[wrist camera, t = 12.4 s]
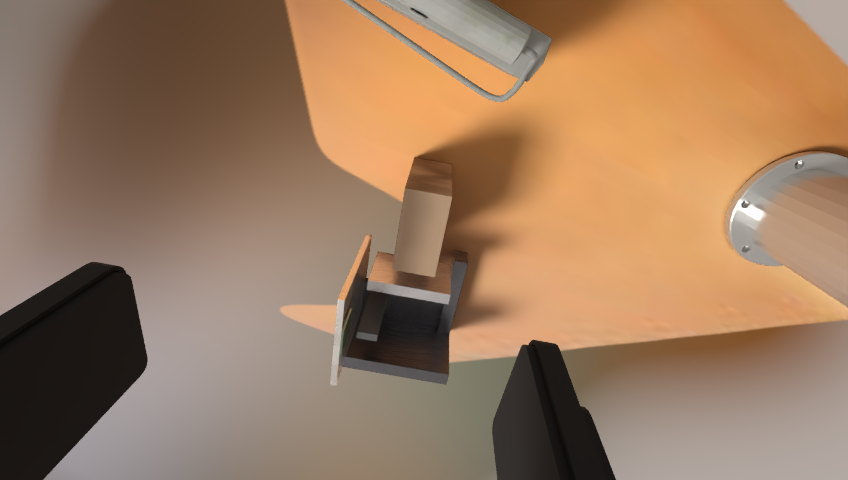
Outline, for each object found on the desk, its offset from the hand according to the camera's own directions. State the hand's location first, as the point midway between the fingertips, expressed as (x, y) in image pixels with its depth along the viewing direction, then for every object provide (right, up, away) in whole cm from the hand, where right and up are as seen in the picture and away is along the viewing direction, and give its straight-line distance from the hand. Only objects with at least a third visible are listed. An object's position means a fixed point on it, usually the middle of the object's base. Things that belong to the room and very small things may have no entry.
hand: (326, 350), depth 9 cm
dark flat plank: (-3, -2, +37) cm, 37 cm away
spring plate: (+1, -1, +35) cm, 35 cm away
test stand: (0, -3, +39) cm, 39 cm away
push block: (+3, +8, +33) cm, 34 cm away
